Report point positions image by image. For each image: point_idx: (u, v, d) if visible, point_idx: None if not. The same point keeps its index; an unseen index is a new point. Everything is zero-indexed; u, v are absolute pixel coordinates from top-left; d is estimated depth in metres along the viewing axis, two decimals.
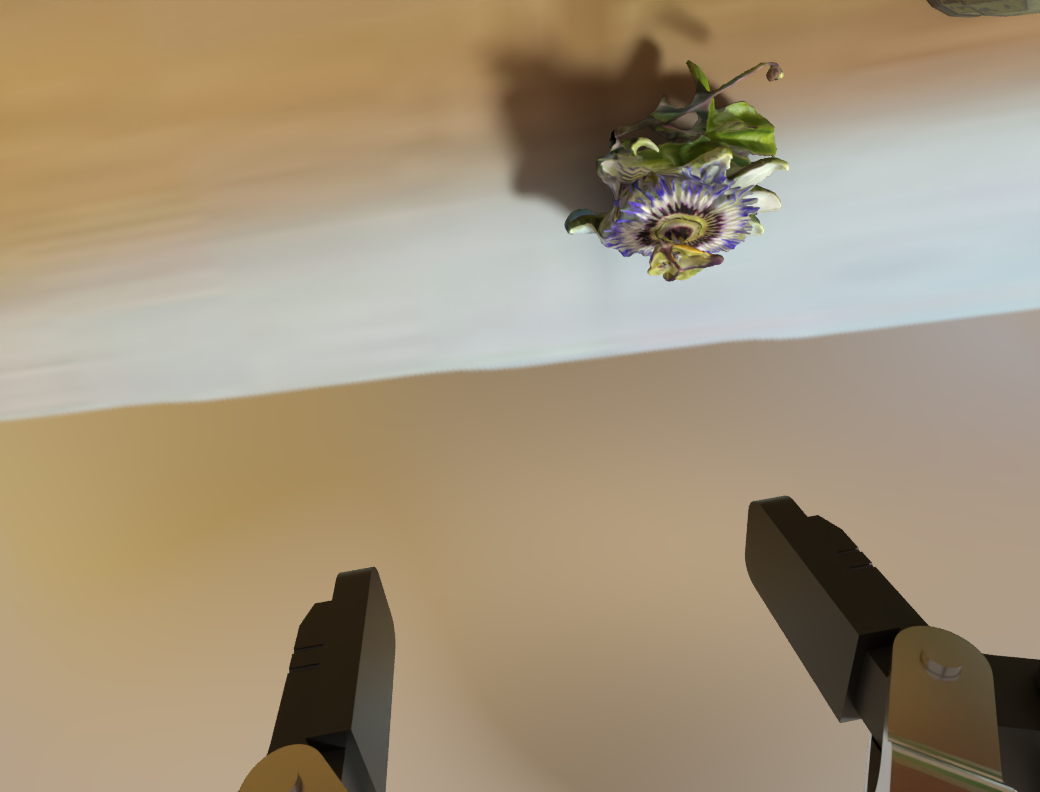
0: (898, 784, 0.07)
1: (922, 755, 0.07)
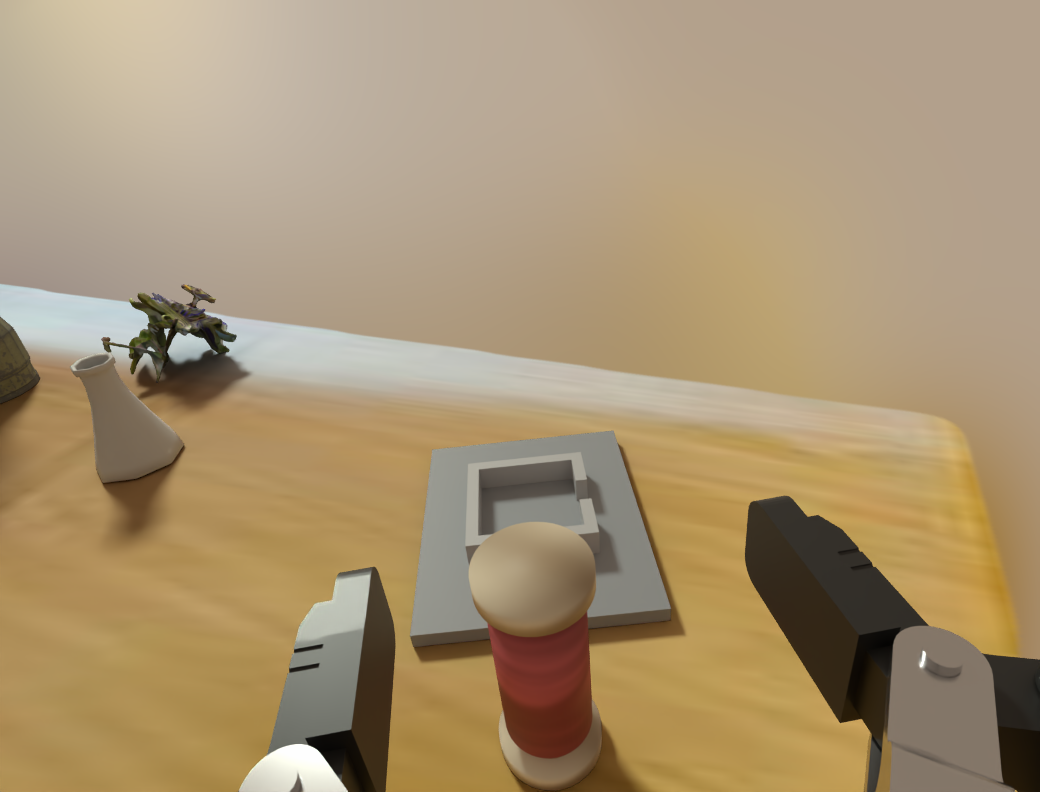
0: (898, 784, 0.07)
1: (922, 755, 0.07)
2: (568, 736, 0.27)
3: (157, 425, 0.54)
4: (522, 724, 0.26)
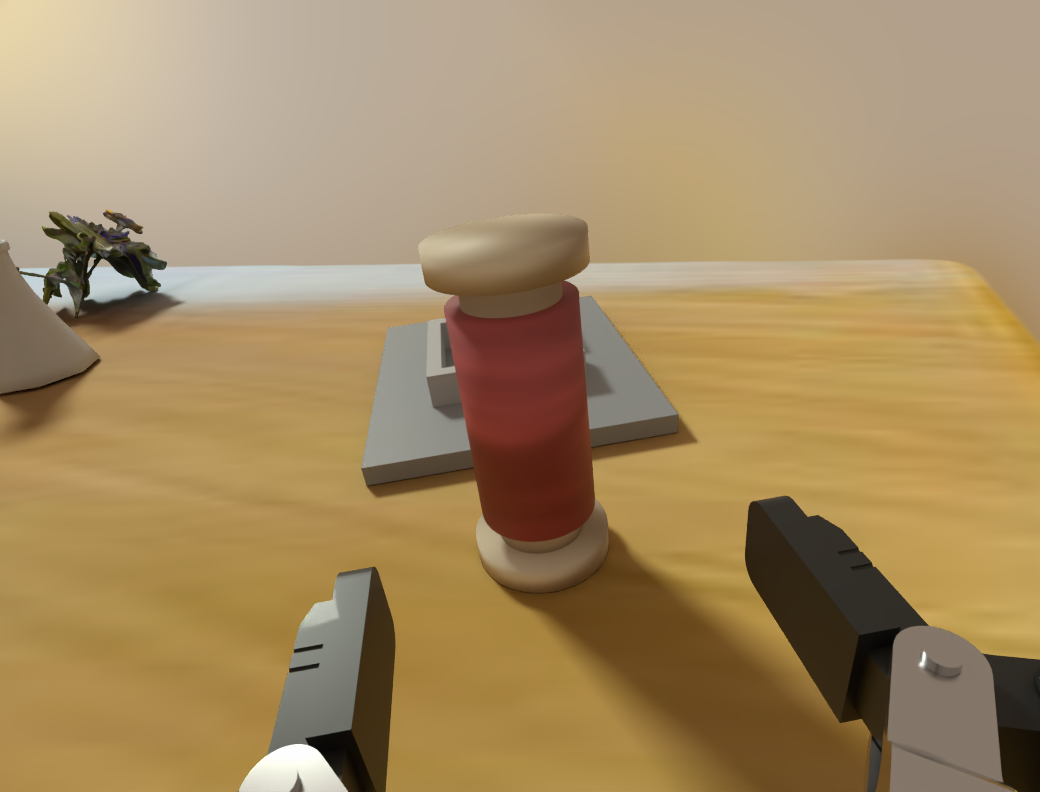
0: (898, 784, 0.07)
1: (922, 755, 0.07)
2: (566, 503, 0.20)
3: (65, 329, 0.46)
4: (505, 486, 0.20)
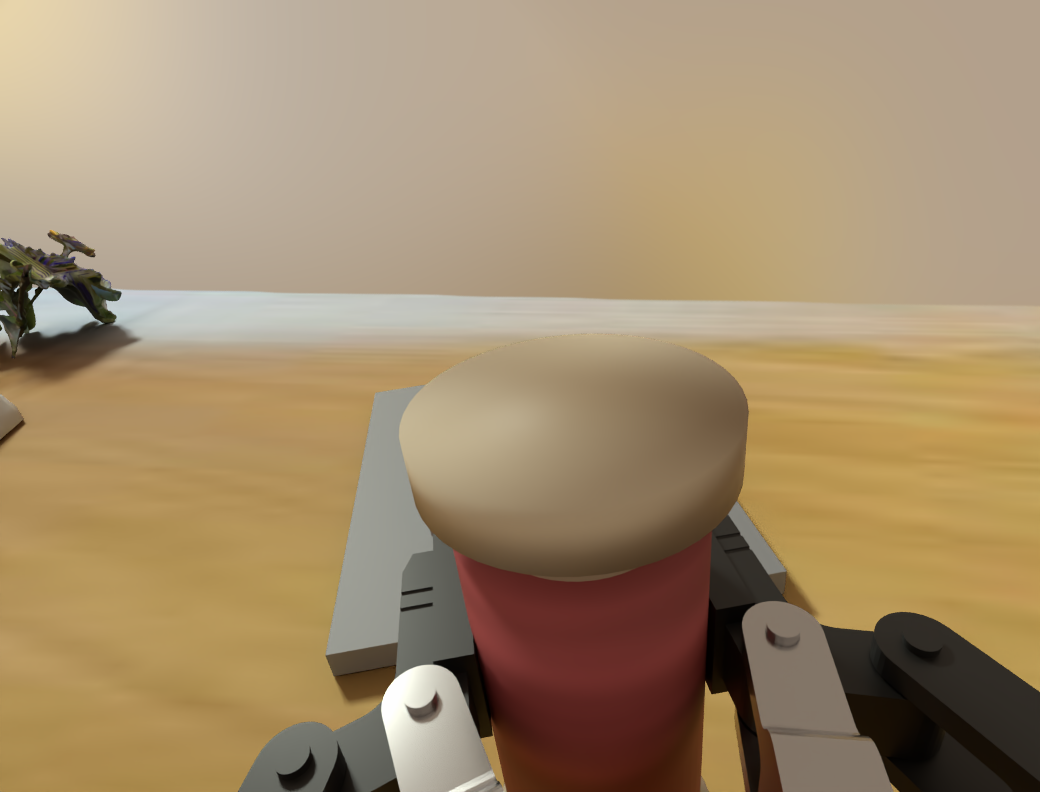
0: (785, 772, 0.07)
1: (795, 733, 0.08)
2: None
3: None
4: None
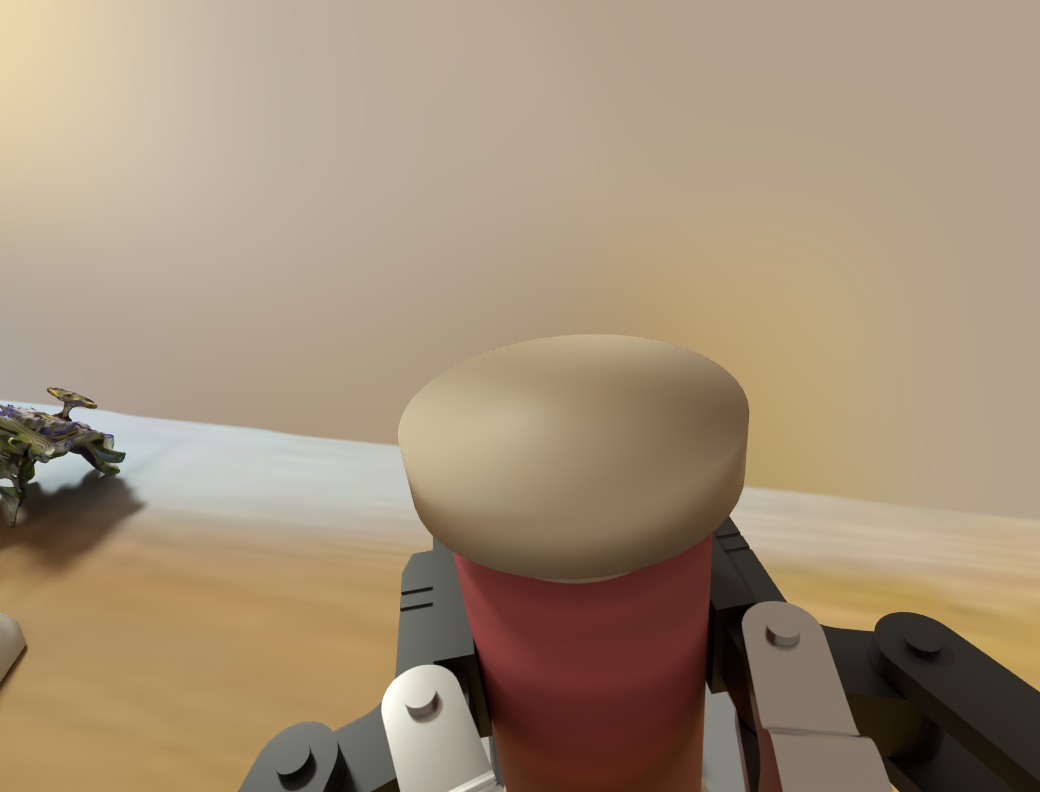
0: (785, 772, 0.07)
1: (795, 733, 0.08)
2: None
3: None
4: None
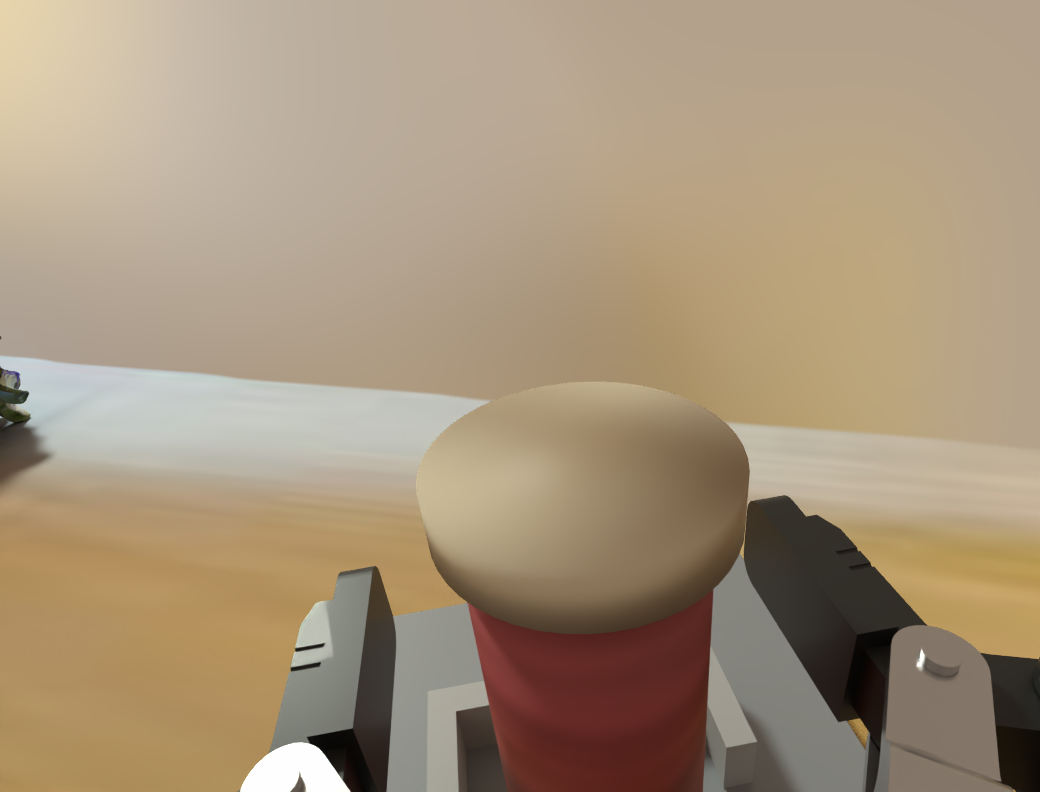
0: (896, 783, 0.07)
1: (920, 754, 0.07)
2: None
3: None
4: None
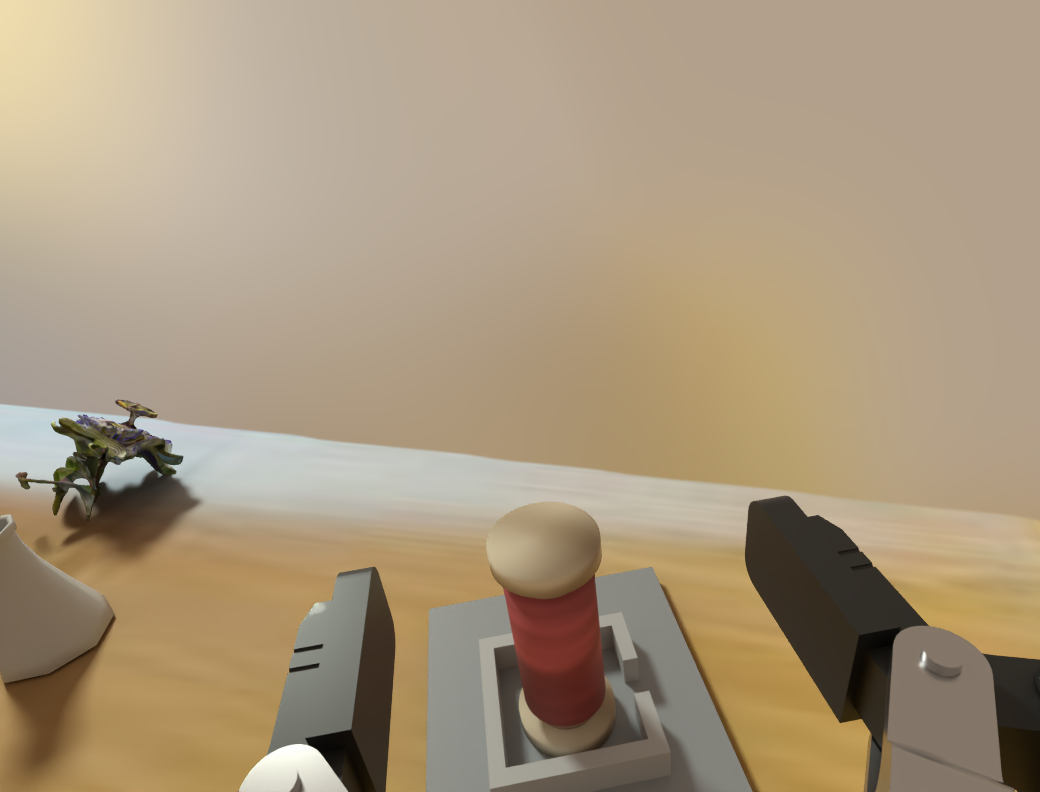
0: (898, 784, 0.07)
1: (922, 755, 0.07)
2: (585, 702, 0.29)
3: (77, 597, 0.42)
4: (543, 693, 0.29)
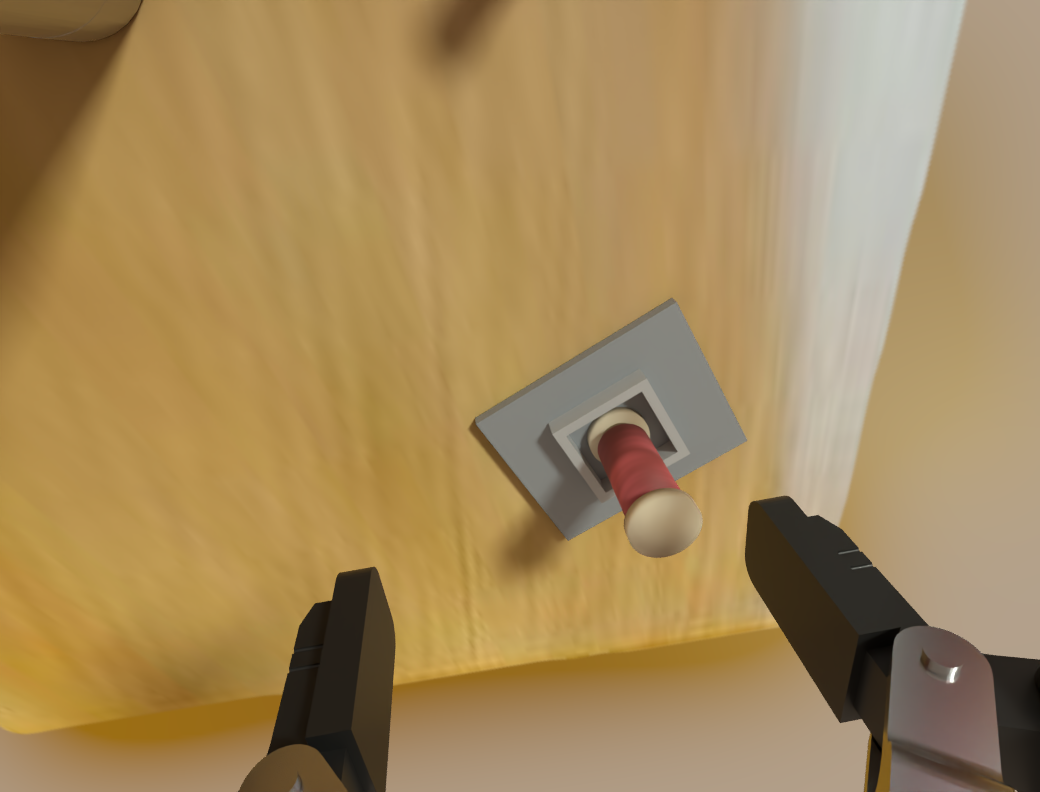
0: (898, 784, 0.07)
1: (922, 755, 0.07)
2: None
3: None
4: (604, 464, 0.46)
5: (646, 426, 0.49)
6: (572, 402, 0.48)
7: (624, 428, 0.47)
